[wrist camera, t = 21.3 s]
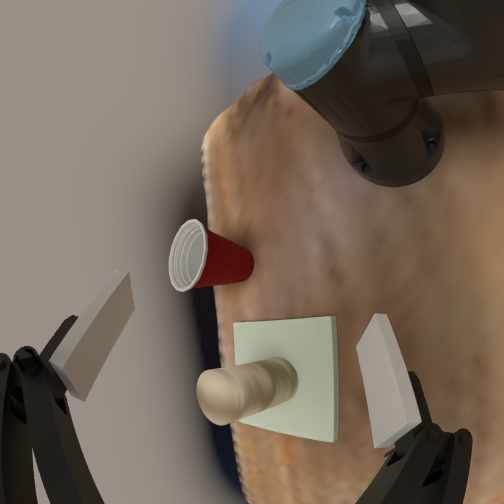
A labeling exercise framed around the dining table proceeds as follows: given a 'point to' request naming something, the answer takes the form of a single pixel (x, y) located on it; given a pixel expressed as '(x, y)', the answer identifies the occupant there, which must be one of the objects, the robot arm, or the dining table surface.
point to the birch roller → (245, 389)
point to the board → (308, 370)
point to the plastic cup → (206, 259)
